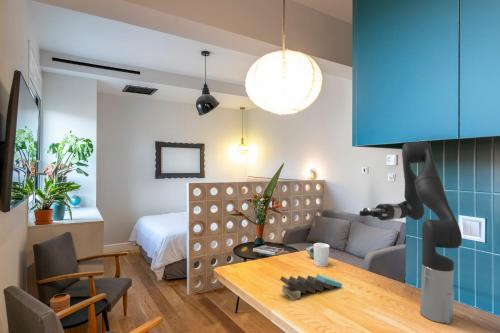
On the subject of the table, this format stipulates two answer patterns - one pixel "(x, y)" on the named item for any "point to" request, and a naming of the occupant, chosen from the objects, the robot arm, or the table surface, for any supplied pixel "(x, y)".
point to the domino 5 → (328, 281)
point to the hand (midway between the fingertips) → (360, 213)
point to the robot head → (310, 251)
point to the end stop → (291, 292)
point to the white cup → (321, 254)
